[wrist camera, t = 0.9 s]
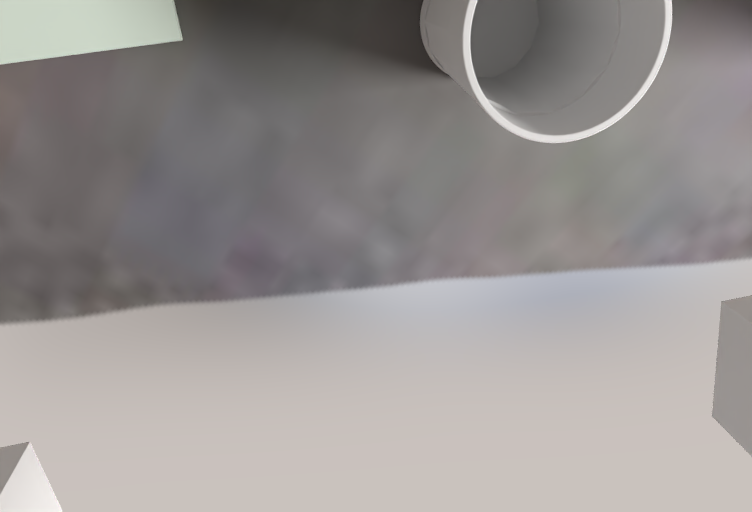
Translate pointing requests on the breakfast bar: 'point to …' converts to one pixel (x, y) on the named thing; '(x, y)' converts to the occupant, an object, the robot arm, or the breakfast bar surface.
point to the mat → (82, 26)
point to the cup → (549, 59)
